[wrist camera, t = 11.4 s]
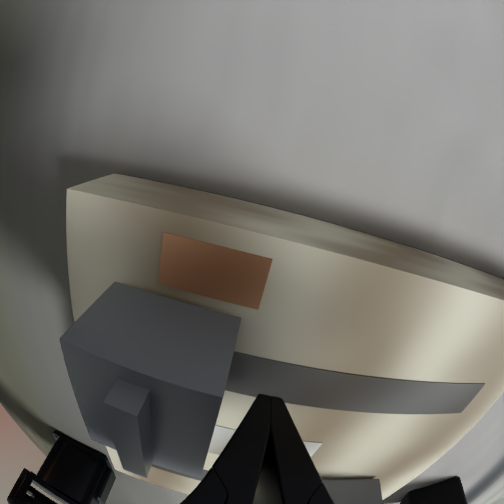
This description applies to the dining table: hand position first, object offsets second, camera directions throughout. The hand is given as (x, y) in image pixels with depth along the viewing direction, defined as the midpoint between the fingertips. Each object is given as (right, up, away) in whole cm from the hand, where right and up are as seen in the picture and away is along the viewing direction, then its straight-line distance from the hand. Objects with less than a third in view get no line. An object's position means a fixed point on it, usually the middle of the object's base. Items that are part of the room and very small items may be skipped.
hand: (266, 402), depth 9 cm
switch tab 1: (-3, +1, +1) cm, 3 cm away
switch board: (+2, -4, +6) cm, 7 cm away
